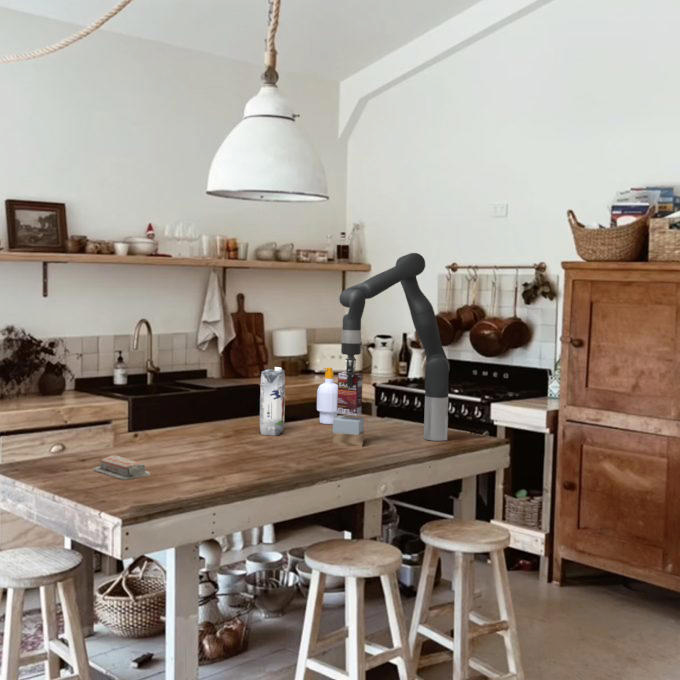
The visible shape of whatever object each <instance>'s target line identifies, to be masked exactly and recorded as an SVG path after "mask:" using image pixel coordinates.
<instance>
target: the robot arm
mask: <svg viewBox="0 0 680 680" xmlns="http://www.w3.org/2000/svg"><path fill="white" fill-rule="evenodd" d="M425 268H426V260H425V258H424V257H423V255H422V254H421V253H417V252H410V253H407V254H406V255H405V254H404V255H403V256H400V257H398V258H397V259H396V262H395V266H393V267H390V268H389V269H387V270H385V271H382V272H379V273H377V274H375V275H373V276H371V277H369V278H368V279H366V280H365V281H362V282H360V283H358V284H355V285H352V286H350V287H347V288H345V289H344V290H343V291H342V292H341V293H340V295H339V299H338V300H339V302H340V305H342V306H343V307H345V308H349V309H348V313H347V314H344V315H343V317H342V331H341V345H340V346H341V348H340V349H341V350H340V351H341V352H340V353H341V355H345V356H346V355H347V358H345V361H344V363H345V372H347V373H346V376H347V386H348V387H352V386H353V376H354V375H353V373H356V372H355V371H356V364H357V358H356V357H355V356H359V355H361V354H362V318H363V314H364V310H365V306H366V300H367V299H368V300H369V299H373V298H374V297H376V296H378V295H379V294H381V293H384V292H385V291H386V290H388V289H389V288H392V287H393V286H395V285H396V284H398V283H400V285H401V286H402V289H403V292H404V294H405V295H404V296H405V299H406V303H407V306H408V308H409V312H410V316H411V320H412V323H413V327H414V329H415V331H416V334H417V336H418V339H419V340H420V343H421V344H422V347H423V350H424V354H425V361H426V363H425V367H424V368H425V370H424V391H425V392H424V418H423V420H424V421H423V439H424V440H427V441H432V442H433V441H435V442H436V441H437V442H439V441H440V442H441V441H448V429H449V427H448V425H449V415H448V413H449V372H450V370H451V368H450V367H451V366H450V361H449V360H448V358H447V355H446V353H445V350H444V348H443V344H442V341H441V337H440V336H441V335H440V331H439V330H440V329H439V326H438V322H437V317H436V314H435V310H434V306H433V304H432V303H431V302H430V300H429V299H428V297H427V296H426V295H425V294H424V293H423V291H422V290H421V288H420V285H419V282H418V279H417V276H419V275H421V274H422V273H423V272H424V270H425Z"/></svg>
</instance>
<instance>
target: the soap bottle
mask: <svg viewBox="0 0 680 680" xmlns="http://www.w3.org/2000/svg"><path fill="white" fill-rule="evenodd" d="M322 370H326V371H325V372H324V376H325V377H324V382H323V383H321V384H320V385H318V388H317V392H316V410H317V411H318V412H319V423H320V424H321V423H322V424H321V425H333V420H334V419H335V418H337V417H338V414H337V398H338V383H334V371H333V368H332V367H323V368H322Z"/></svg>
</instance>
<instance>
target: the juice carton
mask: <svg viewBox="0 0 680 680" xmlns="http://www.w3.org/2000/svg"><path fill="white" fill-rule="evenodd" d="M285 374H286V373H285V369H283V368H282V367H280V366H279V367H278V366H274V369H273V368H272V369H271V368H270V369H267V368H266V369H265V370H262V371H261V374H260V386H259V387H260V389H259V390H260V395H259V397H260V398H259V429H260V430H259V431H260V434H261V435H262V436H280V434H282V432H283V431H284V427H285V413H286V411H285V408H286V407H285V405H286V404H285V403H286V401H285V400H286V375H285Z"/></svg>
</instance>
